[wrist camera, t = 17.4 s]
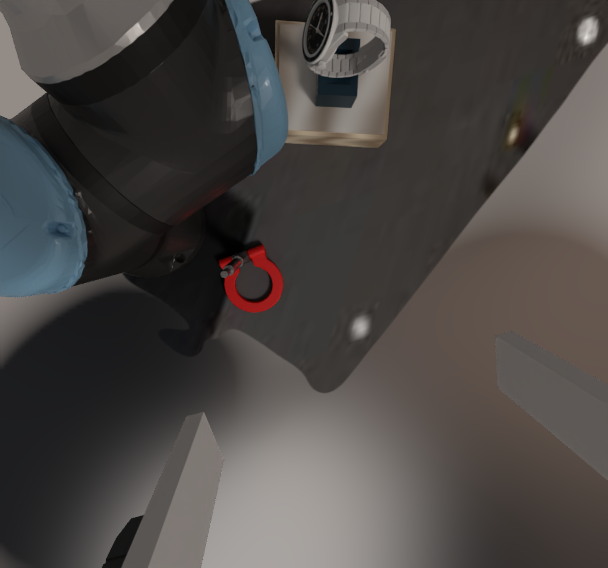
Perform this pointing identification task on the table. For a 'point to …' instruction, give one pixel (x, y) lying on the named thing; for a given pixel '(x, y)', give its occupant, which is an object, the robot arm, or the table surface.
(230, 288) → the tow hook
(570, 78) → the table surface
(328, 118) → the plate
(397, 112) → the table surface
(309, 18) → the watch
